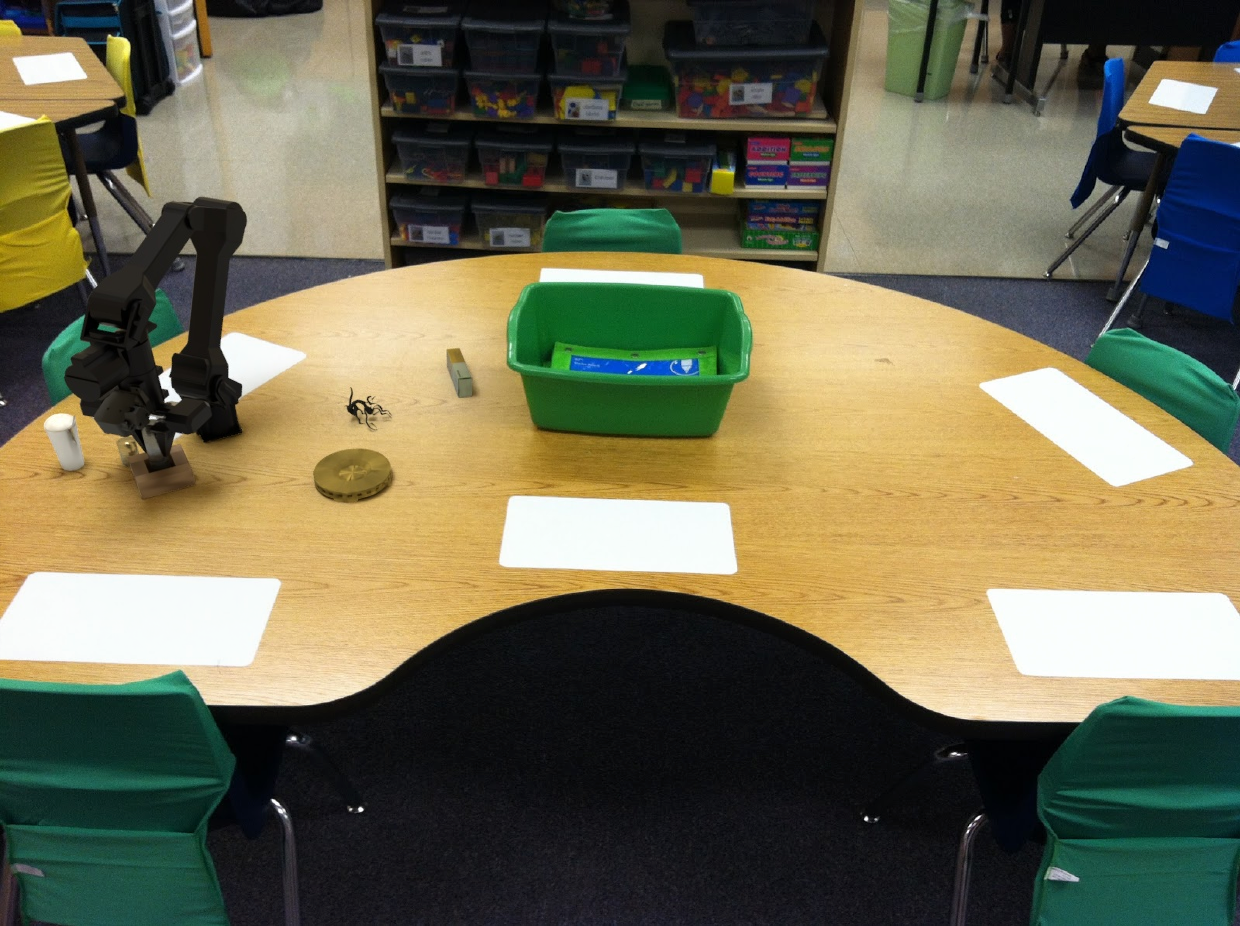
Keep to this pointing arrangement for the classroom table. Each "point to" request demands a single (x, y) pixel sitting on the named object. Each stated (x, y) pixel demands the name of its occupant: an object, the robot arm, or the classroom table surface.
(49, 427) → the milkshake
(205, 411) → the robot arm
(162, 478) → the collar
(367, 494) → the compass
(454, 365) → the medication box
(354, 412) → the creature
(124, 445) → the short pin
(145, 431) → the long pin
